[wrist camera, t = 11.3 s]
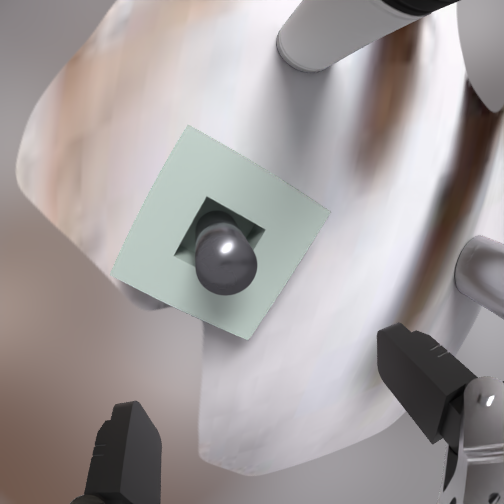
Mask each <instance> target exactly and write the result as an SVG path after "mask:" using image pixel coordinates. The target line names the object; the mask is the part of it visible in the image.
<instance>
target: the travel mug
mask: <svg viewBox="0 0 504 504" xmlns="http://www.w3.org/2000/svg"><path fill="white" fill-rule="evenodd" d="M457 1H459V0H303V1H302V2H301V3H300V4H299V6H298V7H297V8H296V10H295V11H294V12H293V13H292V15H291V16H290V17H289V19H288V20H287V21H286V23H285V24H284V25H283V27H282V28H281V29H280V31H279V33H278V35H277V48H278V51H279V53H280V55H281V57H282V58H283V59H284V60H285V62H286V63H288V64H289V65H290V66H292V67H293V68H295V69H297V70H299V71H302V72H307V73H315V72H320V71H322V70H324V69H326V68H328V67H329V66H331V65H333V64H334V63H336V62H338V61H340V60H341V59H343V58H345V57H346V56H348V55H350V54H352V53H354V52H355V51H357V50H359V49H361V48H363V47H364V46H366V45H368V44H370V43H372V42H374V41H376V40H378V39H379V38H381V37H383V36H385V35H387V34H389V33H391V32H393V31H395V30H397V29H399V28H401V27H403V26H405V25H408V24H410V23H412V22H414V21H416V20H418V19H420V18H423V17H425V16H427V15H429V14H431V13H432V12H434V11H436V10H438V9H441V8H443V7H445V6H448V5H450V4H453V3H455V2H457Z"/></svg>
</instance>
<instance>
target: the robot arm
mask: <svg viewBox="0 0 504 504" xmlns="http://www.w3.org/2000/svg"><path fill="white" fill-rule="evenodd" d="M455 281H456V286H457V288H458V290H459V291H460V292H461V293H463V294H464V295H466V296H468V297H469V298H471V299H472V300H474V301H476V302H477V303H479V304H480V305H482V306H483V307H485V308H487V309H488V310H490V311H491V312H493V313H495V314H496V315H498V316H499V317H501V318H502V319H504V244H502V243H500V242H497V241H495V240H492V239H490V238H487V237H485V236H476V237H474V238H473V239H471V240H470V241H469V242H468V243H467V245H466V246H465V247H464V249H463V250H462V252H461V255H460V257H459V259H458V262H457V266H456V272H455ZM377 365H378V371H379V374H380V376H381V378H382V380H383V382H384V383H385V384H386V386H387V387H388V388H389V389H390V391H391V392H392V393H393V394H394V396H395V397H396V398H397V400H398V401H399V402H400V403H401V405H402V406H403V407H404V408H405V410H406V411H407V412H408V413H409V415H410V416H411V417H412V419H413V420H414V421H415V423H416V424H417V425H418V426H419V428H420V429H421V430H422V432H423V433H424V434H425V435H426V437H427V438H428V439H429V441H430V442H431V443H432V444H434V443H436V442H437V441H439V440H441V439H442V438H444V440H445V441H446V442H447V446H446V452H445V461H444V469H443V475H442V482H441V489H440V494H439V498H438V501H437V504H504V381H503V382H502V381H500V380H499V379H497V378H494V377H489V376H484V377H479V378H478V377H476V376H475V375H474V374H473V373H472V372H471V371H470V370H469V369H468V368H466V367H465V366H464V365H463V364H462V363H461V362H460V361H459V360H457V359H456V358H455V357H454V356H453V355H452V354H451V353H448V352H447V350H446V349H445V348H444V347H442V346H440V345H439V343H438V342H437V341H436V340H434V339H433V338H432V337H431V336H430V335H427V334H424V333H422V332H419V331H414V332H412V333H411V332H410V331H409V330H408V329H407V328H406V327H405V326H404V325H402V324H401V323H396V324H393V325H391V326H389V327H386V328H384V329H382V330H379V331H378V333H377ZM161 452H162V443H161V438H160V435H159V433H158V430H157V429H156V427H155V426H154V424H153V423H152V421H151V420H150V418H149V417H148V415H147V414H146V412H145V411H144V409H143V407H142V406H141V404H140V403H139V402H137V401H132V402H126V403H120V404H116V405H115V406H114V408H113V412H112V416H111V420H107V421H105V423H104V424H103V425H102V427H101V428H100V430H99V431H98V433H97V437H96V441H95V447H94V450H93V457H92V459H91V463H90V468H89V472H88V478H87V482H86V488H85V492H84V495H82V496H79V497H77V498H75V499H74V500H73V501H72V502H71V503H70V504H160V491H161Z"/></svg>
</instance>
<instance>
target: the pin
mask: <svg viewBox="0 0 504 504" xmlns="http://www.w3.org/2000/svg"><path fill="white" fill-rule="evenodd" d="M195 269H196V275H197V278H198V280H199V281H200V283H201V284H202V286H203V287H204V288H206V289H207V290H208V291H210V292H212V293H214V294H217V295H225V296H227V295H234V294H237V293H239V292H241V291H243V290H244V289H246V288H247V287H248V286H249V285H250V284H251V283H252V281H253V280H254V278H255V275H256V272H257V258H256V255H255V253H254V251H253V249H252V248H251V246H250V244H249V243H248V241H247V239H246V238H245V236H244V235H243V233H242V231H241V230H240V228H239V226H238V225H237V223H236V222H235V220H234V219H233V217H232V216H231V215H229V214H228V213H226V212H223V211H218V210H215V211H210V212H208V213H206V214H204V215H203V216H202V217H201V218H200V219H199V220H198V222H197V224H196V228H195Z"/></svg>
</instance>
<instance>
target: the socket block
mask: <svg viewBox="0 0 504 504" xmlns="http://www.w3.org/2000/svg"><path fill="white" fill-rule="evenodd" d="M215 210H218V211H223V212H226V213H228V214H229V215H231V216H232V217H233V219H234V220H235V222H236V223H237V225H238V226H239V228H240V230H241V231H242V233H243V235H244V236H245V238H246V239H247V241H248V243H249V244H250V246H251V248H252V249H253V251H254V253H255V255H256V258H257V272H256V275H255V278H254V280H253V281H252V283H251V284H250V285H249V286H248V287H247V288H246V289H244V290H243V291H241V292H239V293H237V294H234V295H227V296H225V295H217V294H214V293H212V292H210V291H208V290H207V289H206V288H204V287H203V286H202V284H201V283H200V281H199V280H198V278H197V275H196V269H195V228H196V224H197V222H198V220H199V219H200V218H201V217H202V216H203V215H204V214H206V213H208V212H210V211H215ZM330 213H331V212H330V211H329V210H327V209H326V208H324V207H323V206H321V205H320V204H318V203H317V202H315V201H314V200H312V199H311V198H309V197H308V196H306V195H305V194H303V193H302V192H300V191H299V190H297V189H295V188H294V187H292V186H291V185H289V184H288V183H286V182H285V181H283V180H281V179H280V178H278V177H277V176H275V175H273V174H272V173H270V172H269V171H267V170H265V169H264V168H262V167H260V166H259V165H257V164H256V163H254V162H252V161H251V160H249V159H247V158H246V157H244V156H242V155H241V154H239V153H237V152H236V151H234V150H232V149H230V148H229V147H227V146H225V145H224V144H222V143H220V142H218V141H217V140H215V139H213V138H211V137H210V136H208V135H206V134H204V133H203V132H201V131H199V130H197V129H195V128H194V127H192V126H190V125H187V127H186V129H185V130H184V132H183V133H182V135H181V137H180V138H179V140H178V142H177V143H176V145H175V147H174V149H173V150H172V152H171V154H170V155H169V157H168V159H167V161H166V162H165V164H164V166H163V168H162V170H161V171H160V173H159V175H158V177H157V179H156V181H155V182H154V184H153V186H152V188H151V190H150V192H149V194H148V196H147V197H146V199H145V201H144V203H143V205H142V207H141V209H140V211H139V213H138V215H137V217H136V219H135V221H134V223H133V225H132V227H131V229H130V231H129V233H128V235H127V238H126V240H125V242H124V244H123V246H122V248H121V250H120V253H119V255H118V257H117V259H116V261H115V264H114V266H113V268H112V271H111V273H110V275H111V276H113V277H115V278H116V279H118V280H120V281H122V282H124V283H126V284H128V285H130V286H132V287H134V288H136V289H138V290H140V291H142V292H144V293H146V294H148V295H150V296H152V297H154V298H156V299H158V300H160V301H162V302H164V303H166V304H168V305H170V306H172V307H174V308H176V309H179V310H181V311H183V312H185V313H187V314H189V315H191V316H193V317H196V318H198V319H200V320H202V321H204V322H207V323H209V324H211V325H213V326H216V327H218V328H220V329H222V330H225V331H227V332H229V333H232V334H234V335H236V336H239V337H241V338H243V339H246V340H249V339H250V337H251V336H252V334H253V333H254V331H255V330H256V328H257V327H258V325H259V324H260V322H261V321H262V319H263V318H264V316H265V315H266V313H267V312H268V310H269V309H270V307H271V306H272V304H273V303H274V301H275V300H276V298H277V297H278V295H279V294H280V292H281V291H282V289H283V288H284V286H285V284H286V283H287V281H288V280H289V278H290V277H291V275H292V274H293V272H294V271H295V269H296V267H297V266H298V264H299V263H300V261H301V260H302V258H303V256H304V255H305V253H306V252H307V250H308V248H309V247H310V245H311V244H312V242H313V240H314V239H315V237H316V236H317V234H318V232H319V231H320V229H321V228H322V226H323V224H324V223H325V221H326V219H327V218H328V216H329V214H330Z"/></svg>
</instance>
